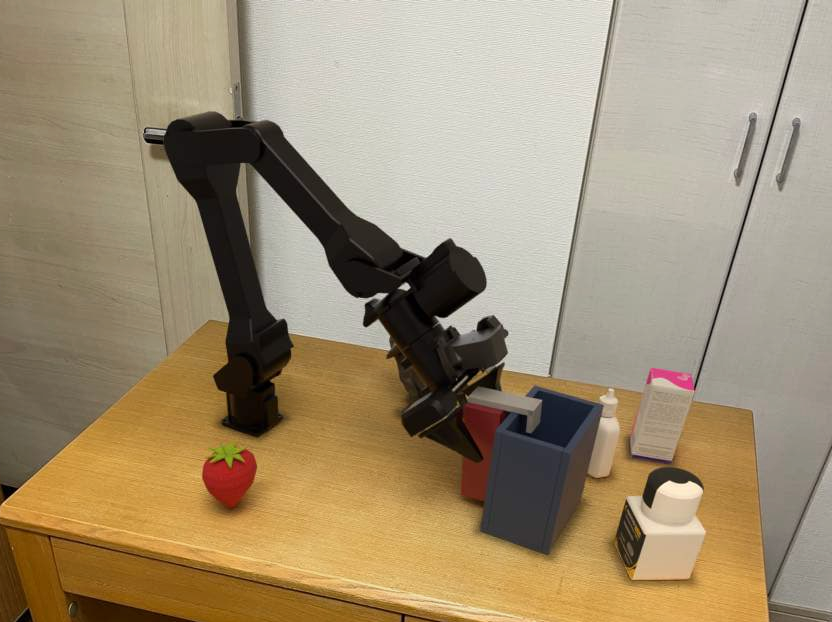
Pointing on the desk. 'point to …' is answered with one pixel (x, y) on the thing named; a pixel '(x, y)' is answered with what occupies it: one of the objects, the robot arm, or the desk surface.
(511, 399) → the red post with hook
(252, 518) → the desk surface
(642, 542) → the medicine bottle
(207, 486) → the strawberry
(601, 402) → the eye dropper bottle
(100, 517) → the desk surface
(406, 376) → the toy dinosaur
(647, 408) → the supplement box
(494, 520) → the storage box
